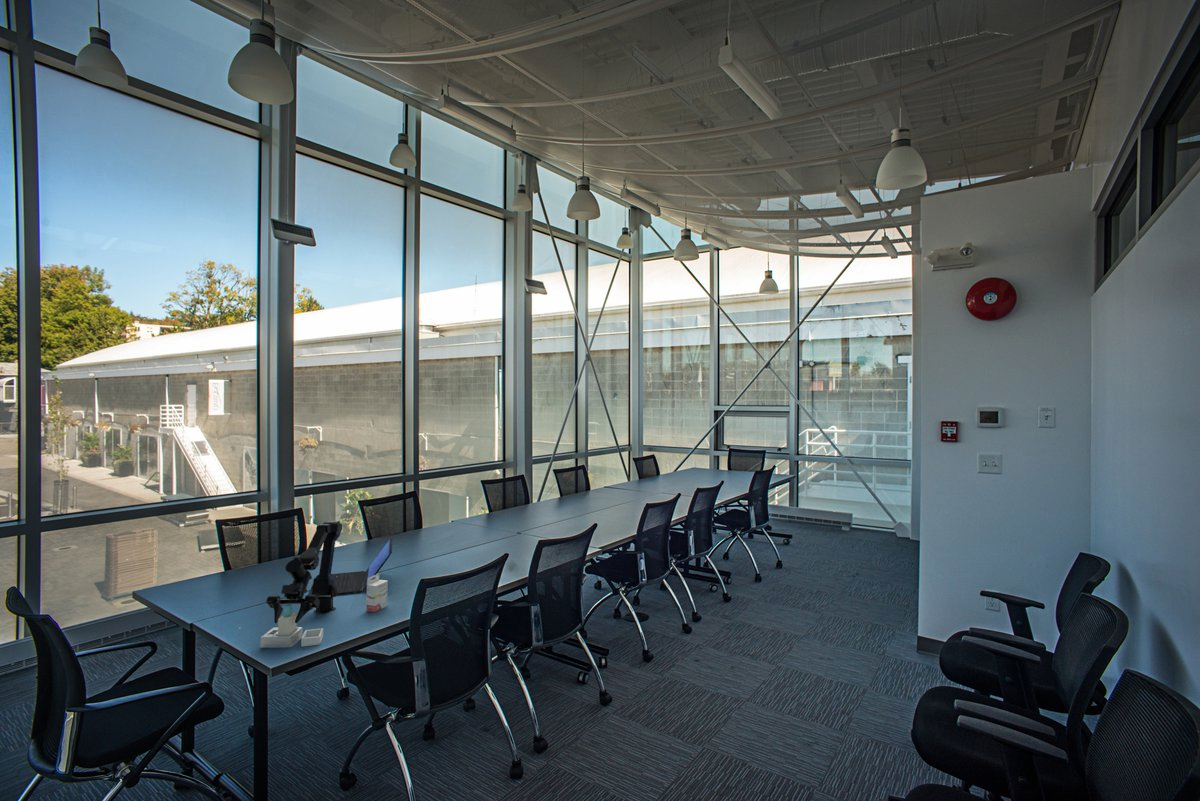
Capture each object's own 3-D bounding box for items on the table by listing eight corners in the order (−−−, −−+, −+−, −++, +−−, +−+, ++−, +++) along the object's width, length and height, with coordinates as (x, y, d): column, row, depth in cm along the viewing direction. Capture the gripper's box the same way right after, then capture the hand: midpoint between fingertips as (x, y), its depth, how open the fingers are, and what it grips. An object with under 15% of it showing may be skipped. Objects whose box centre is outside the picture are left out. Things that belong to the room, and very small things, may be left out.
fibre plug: (296, 638, 223) (296, 602, 223) (288, 645, 217) (288, 608, 217) (286, 638, 223) (286, 602, 223) (278, 645, 217) (278, 608, 217)
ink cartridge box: (375, 612, 251) (375, 579, 251) (366, 611, 252) (366, 578, 252) (388, 605, 259) (388, 573, 259) (378, 604, 260) (378, 572, 260)
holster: (323, 635, 226) (323, 628, 226) (320, 644, 218) (320, 636, 218) (305, 637, 224) (305, 630, 224) (301, 646, 216) (301, 638, 216)
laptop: (316, 578, 299) (316, 541, 299) (392, 571, 311) (392, 536, 311) (306, 599, 268) (306, 558, 268) (391, 591, 280) (391, 551, 280)
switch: (302, 637, 225) (302, 626, 225) (290, 647, 215) (290, 636, 215) (273, 637, 224) (273, 627, 224) (260, 647, 215) (260, 636, 215)
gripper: (268, 575, 223) (252, 614, 212) (316, 574, 224) (303, 613, 213) (278, 588, 231) (263, 626, 220) (325, 588, 232) (313, 626, 221)
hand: (285, 622), depth 219 cm, fingers open, 7 cm apart
